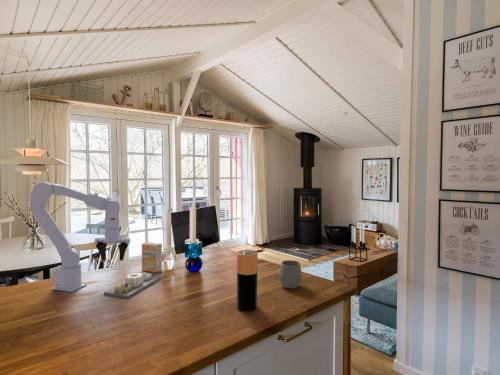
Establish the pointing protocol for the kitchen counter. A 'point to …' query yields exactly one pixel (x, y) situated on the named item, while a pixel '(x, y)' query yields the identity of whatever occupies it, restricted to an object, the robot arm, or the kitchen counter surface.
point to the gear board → (127, 290)
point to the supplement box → (151, 257)
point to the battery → (247, 279)
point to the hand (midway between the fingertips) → (112, 259)
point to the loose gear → (134, 279)
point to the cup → (290, 274)
